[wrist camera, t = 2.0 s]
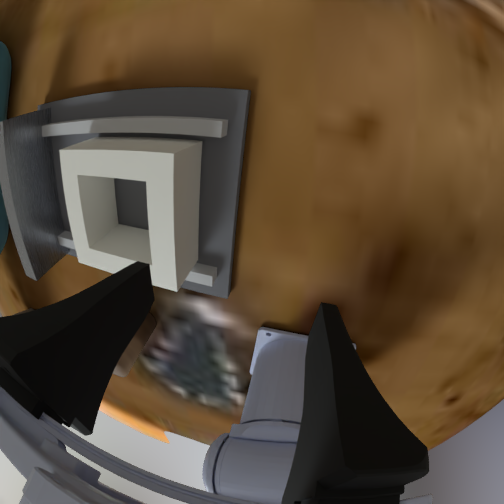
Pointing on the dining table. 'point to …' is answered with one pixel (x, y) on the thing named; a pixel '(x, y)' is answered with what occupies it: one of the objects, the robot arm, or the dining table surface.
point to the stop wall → (31, 191)
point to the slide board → (176, 127)
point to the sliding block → (158, 204)
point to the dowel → (135, 346)
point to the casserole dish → (0, 96)
